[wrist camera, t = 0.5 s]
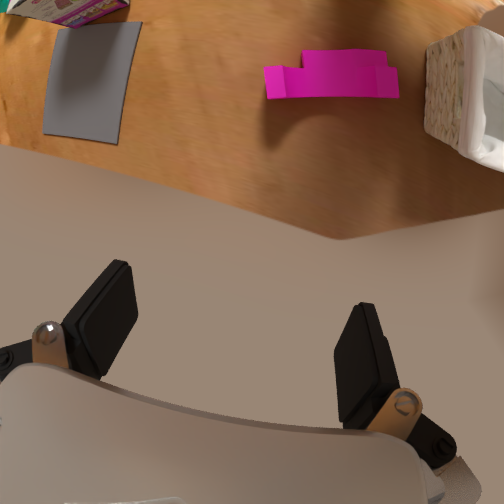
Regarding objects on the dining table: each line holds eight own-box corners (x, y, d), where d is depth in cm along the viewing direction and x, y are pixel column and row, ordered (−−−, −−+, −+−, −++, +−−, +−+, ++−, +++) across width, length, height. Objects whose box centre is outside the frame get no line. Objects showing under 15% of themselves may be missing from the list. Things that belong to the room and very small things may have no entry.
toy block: (375, 55, 29) (394, 47, 23) (379, 97, 32) (399, 98, 26) (265, 56, 31) (260, 46, 25) (271, 99, 34) (267, 98, 28)
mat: (59, 29, 29) (58, 29, 28) (142, 22, 29) (141, 21, 29) (43, 132, 39) (42, 133, 38) (117, 143, 39) (116, 143, 39)
